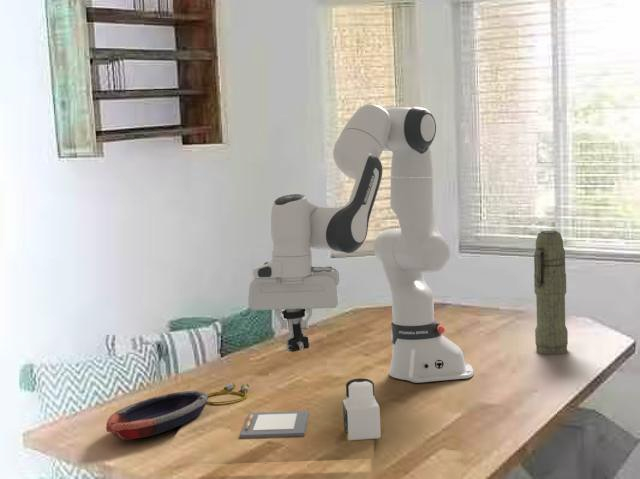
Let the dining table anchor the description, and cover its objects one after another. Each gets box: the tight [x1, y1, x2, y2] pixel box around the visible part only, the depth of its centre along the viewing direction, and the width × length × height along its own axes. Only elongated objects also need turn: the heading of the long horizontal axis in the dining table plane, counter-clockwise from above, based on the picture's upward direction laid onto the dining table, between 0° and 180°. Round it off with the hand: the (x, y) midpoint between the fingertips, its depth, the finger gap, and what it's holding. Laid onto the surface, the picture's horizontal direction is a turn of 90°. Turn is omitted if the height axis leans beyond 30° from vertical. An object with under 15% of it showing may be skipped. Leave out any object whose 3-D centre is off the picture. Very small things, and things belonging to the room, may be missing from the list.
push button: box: [281, 309, 310, 353], centre depth 202 cm, size 7×5×10 cm
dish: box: [105, 390, 209, 440], centre depth 208 cm, size 16×31×5 cm, turn 144°
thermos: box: [533, 230, 569, 356], centre depth 255 cm, size 9×12×35 cm
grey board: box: [239, 410, 309, 439], centre depth 203 cm, size 14×16×1 cm
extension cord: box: [206, 381, 250, 406], centre depth 229 cm, size 12×16×2 cm
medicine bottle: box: [342, 378, 382, 441], centre depth 193 cm, size 7×7×12 cm
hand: (294, 328), depth 201 cm, fingers closed on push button, 3 cm apart
